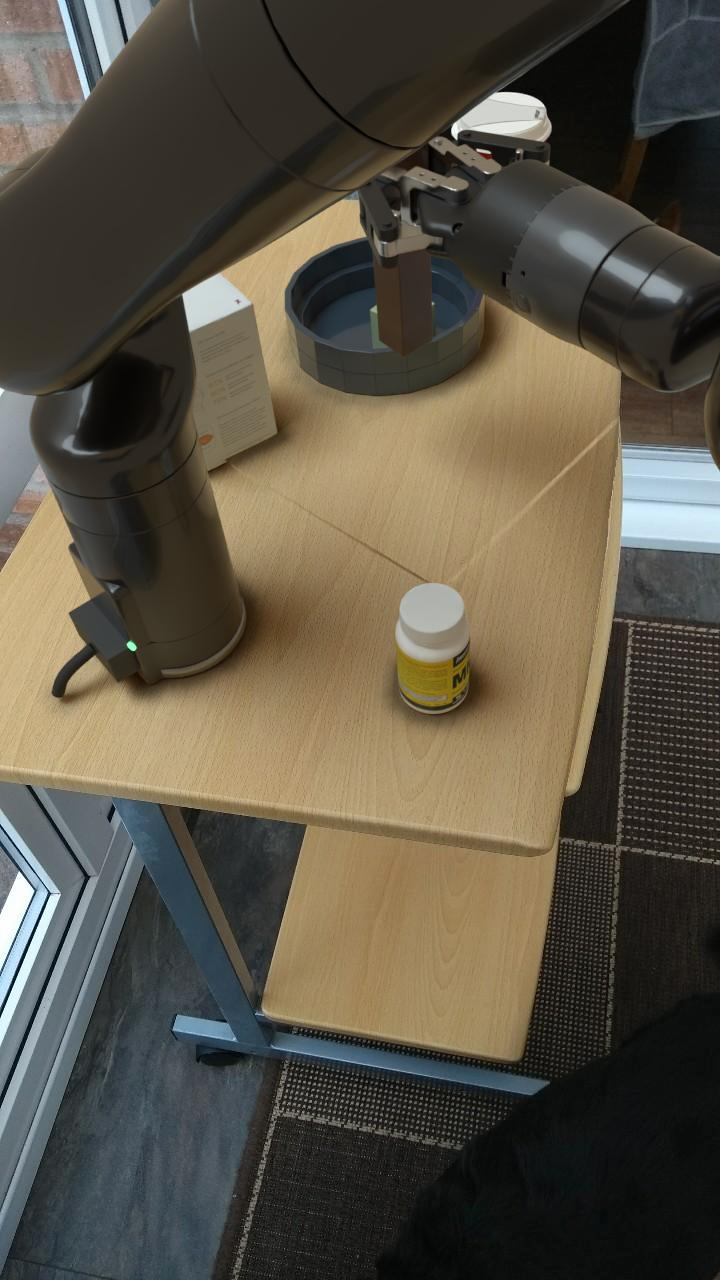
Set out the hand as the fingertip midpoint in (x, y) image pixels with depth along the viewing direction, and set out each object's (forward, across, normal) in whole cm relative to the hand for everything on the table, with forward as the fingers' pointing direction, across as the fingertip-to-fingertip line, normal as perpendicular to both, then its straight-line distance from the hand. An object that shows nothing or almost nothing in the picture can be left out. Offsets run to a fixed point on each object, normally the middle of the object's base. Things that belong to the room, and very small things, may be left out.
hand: (368, 149), depth 65 cm
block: (+8, -8, +23) cm, 26 cm away
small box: (+10, +10, +24) cm, 28 cm away
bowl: (+10, -8, +24) cm, 27 cm away
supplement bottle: (-21, +14, +24) cm, 35 cm away
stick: (-3, 0, +13) cm, 13 cm away
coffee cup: (+11, -22, +24) cm, 35 cm away
